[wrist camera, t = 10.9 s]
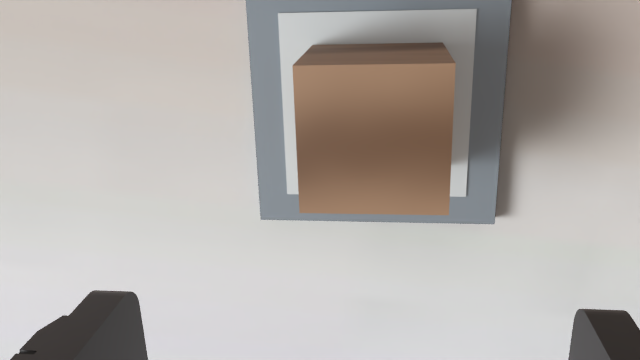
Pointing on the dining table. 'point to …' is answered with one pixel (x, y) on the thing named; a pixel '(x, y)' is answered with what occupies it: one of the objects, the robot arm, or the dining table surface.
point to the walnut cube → (374, 128)
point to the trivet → (379, 28)
